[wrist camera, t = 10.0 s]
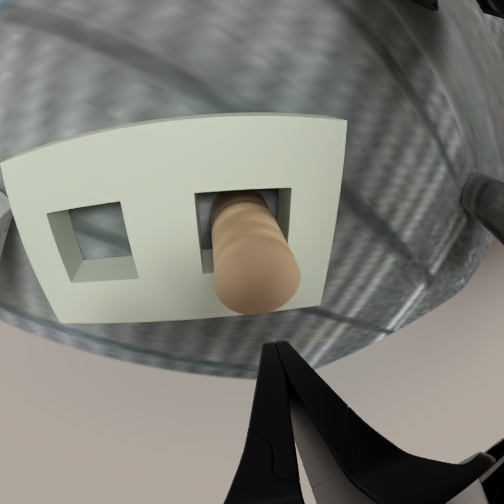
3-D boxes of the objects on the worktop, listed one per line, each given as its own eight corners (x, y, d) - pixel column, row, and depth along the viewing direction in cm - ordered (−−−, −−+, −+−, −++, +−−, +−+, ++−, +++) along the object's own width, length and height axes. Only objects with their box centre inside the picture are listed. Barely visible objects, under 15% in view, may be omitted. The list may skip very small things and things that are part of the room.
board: (326, 115, 16) (347, 120, 14) (308, 282, 24) (320, 305, 21) (22, 151, 13) (0, 163, 11) (70, 300, 21) (60, 323, 19)
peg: (268, 183, 18) (306, 242, 12) (266, 235, 21) (296, 310, 14) (208, 186, 18) (210, 250, 11) (211, 239, 20) (217, 319, 14)
